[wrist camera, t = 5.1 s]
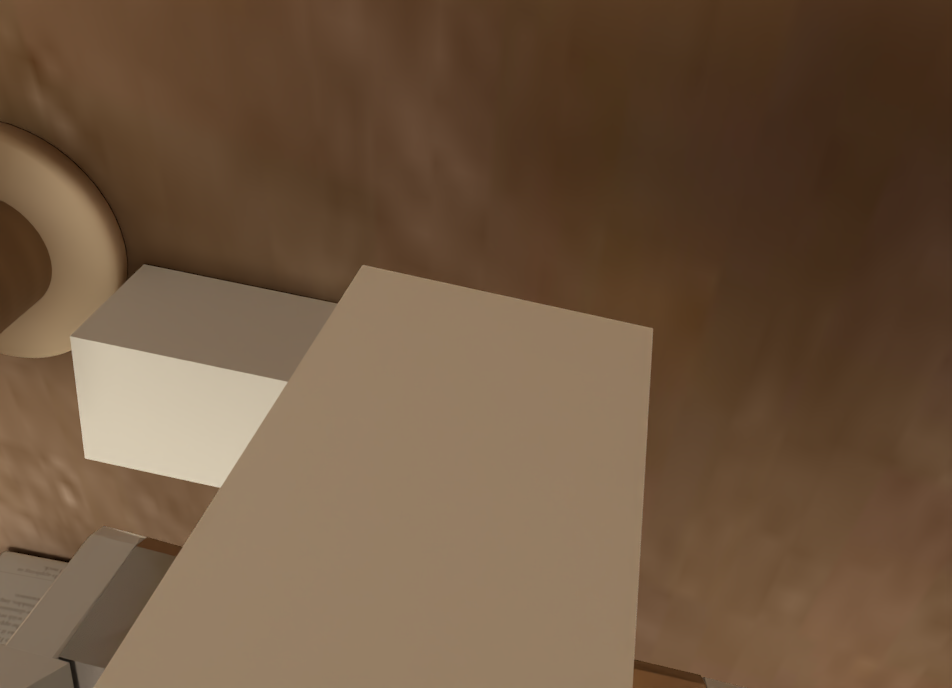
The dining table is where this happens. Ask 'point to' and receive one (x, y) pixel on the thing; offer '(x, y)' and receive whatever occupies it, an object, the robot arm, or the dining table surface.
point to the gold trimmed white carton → (421, 508)
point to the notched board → (186, 370)
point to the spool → (51, 247)
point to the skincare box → (23, 587)
